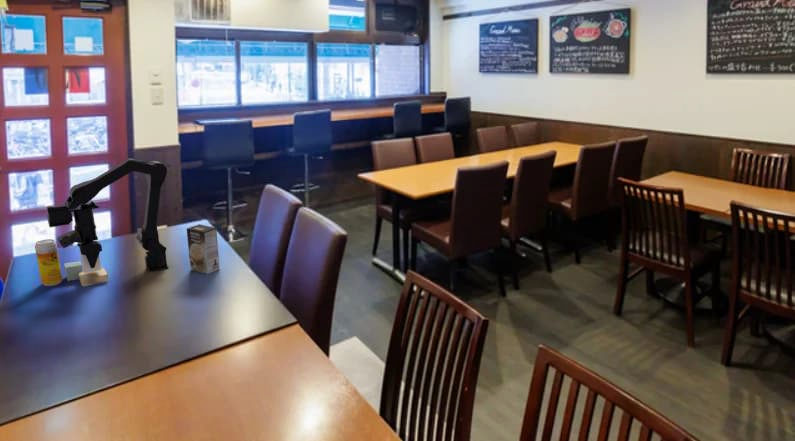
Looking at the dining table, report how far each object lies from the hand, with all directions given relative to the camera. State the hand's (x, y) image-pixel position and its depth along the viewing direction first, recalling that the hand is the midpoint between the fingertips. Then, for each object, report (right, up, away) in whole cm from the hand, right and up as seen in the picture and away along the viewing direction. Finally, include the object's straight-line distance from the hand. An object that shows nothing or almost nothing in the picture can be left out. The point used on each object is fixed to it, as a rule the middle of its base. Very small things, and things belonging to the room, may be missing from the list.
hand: (91, 265), depth 186 cm
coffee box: (+35, -3, +12) cm, 37 cm away
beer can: (-13, -6, -1) cm, 14 cm away
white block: (0, -1, 0) cm, 1 cm away
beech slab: (0, -6, +2) cm, 6 cm away
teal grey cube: (-8, -5, +4) cm, 10 cm away
